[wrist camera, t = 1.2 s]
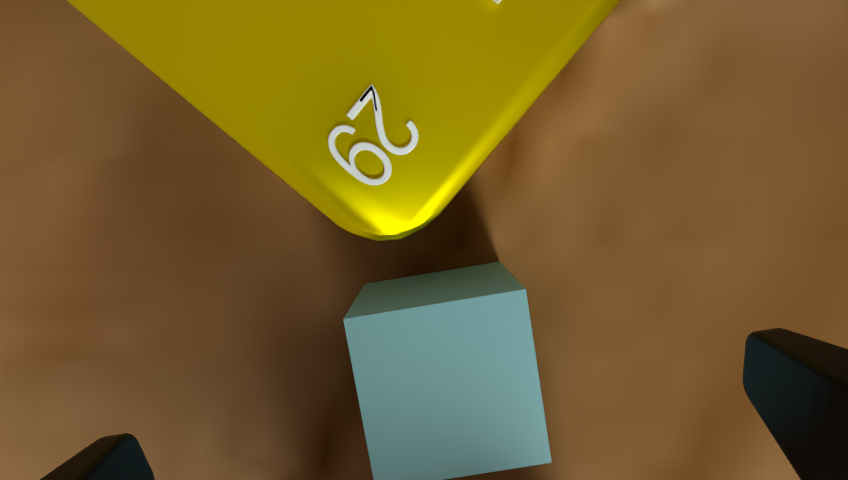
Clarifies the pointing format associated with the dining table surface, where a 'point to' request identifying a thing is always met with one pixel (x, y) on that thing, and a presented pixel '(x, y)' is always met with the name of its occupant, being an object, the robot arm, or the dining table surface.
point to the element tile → (359, 87)
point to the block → (447, 374)
